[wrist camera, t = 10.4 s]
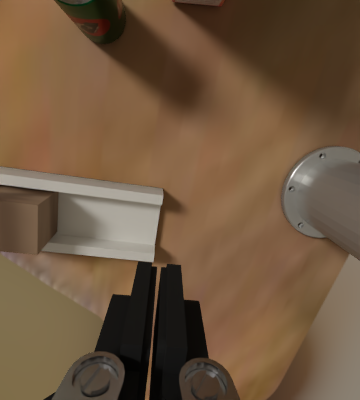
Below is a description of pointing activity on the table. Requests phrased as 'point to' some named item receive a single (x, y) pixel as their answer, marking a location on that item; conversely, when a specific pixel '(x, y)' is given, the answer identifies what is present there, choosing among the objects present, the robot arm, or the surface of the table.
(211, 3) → the cracker box
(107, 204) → the chute
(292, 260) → the table surface
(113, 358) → the robot arm
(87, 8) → the soda can
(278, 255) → the table surface
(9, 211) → the walnut block
